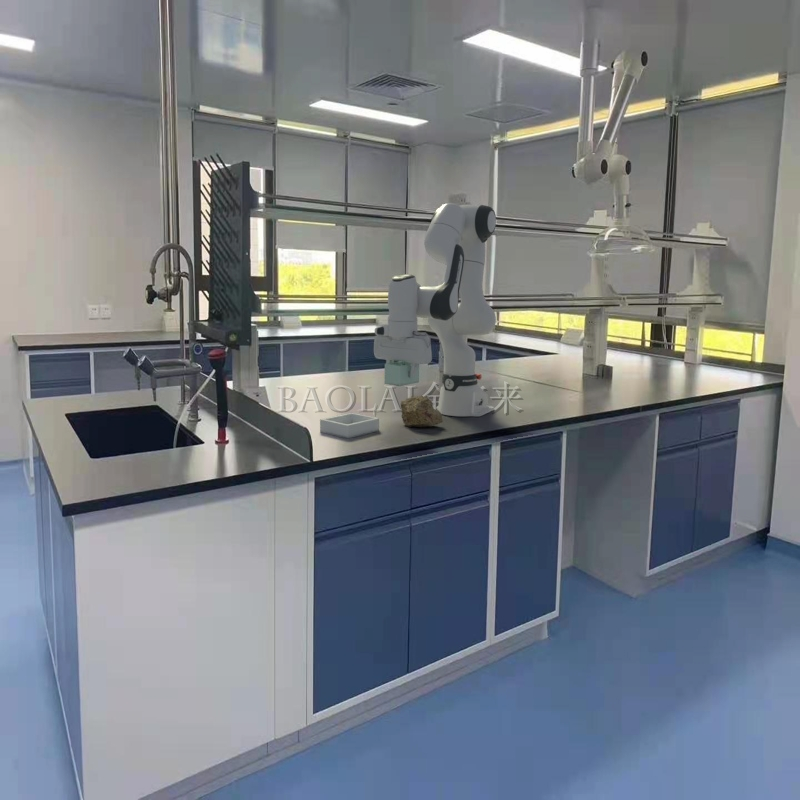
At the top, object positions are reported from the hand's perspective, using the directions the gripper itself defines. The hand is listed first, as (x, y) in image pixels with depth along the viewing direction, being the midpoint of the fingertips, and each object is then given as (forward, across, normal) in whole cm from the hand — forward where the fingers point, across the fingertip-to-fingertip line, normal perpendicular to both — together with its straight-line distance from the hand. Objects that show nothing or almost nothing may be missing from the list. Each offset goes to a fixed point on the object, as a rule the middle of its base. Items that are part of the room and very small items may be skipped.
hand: (402, 376), depth 200 cm
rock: (+19, +5, -15) cm, 24 cm away
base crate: (+18, +15, +7) cm, 25 cm away
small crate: (+2, 0, 0) cm, 2 cm away
